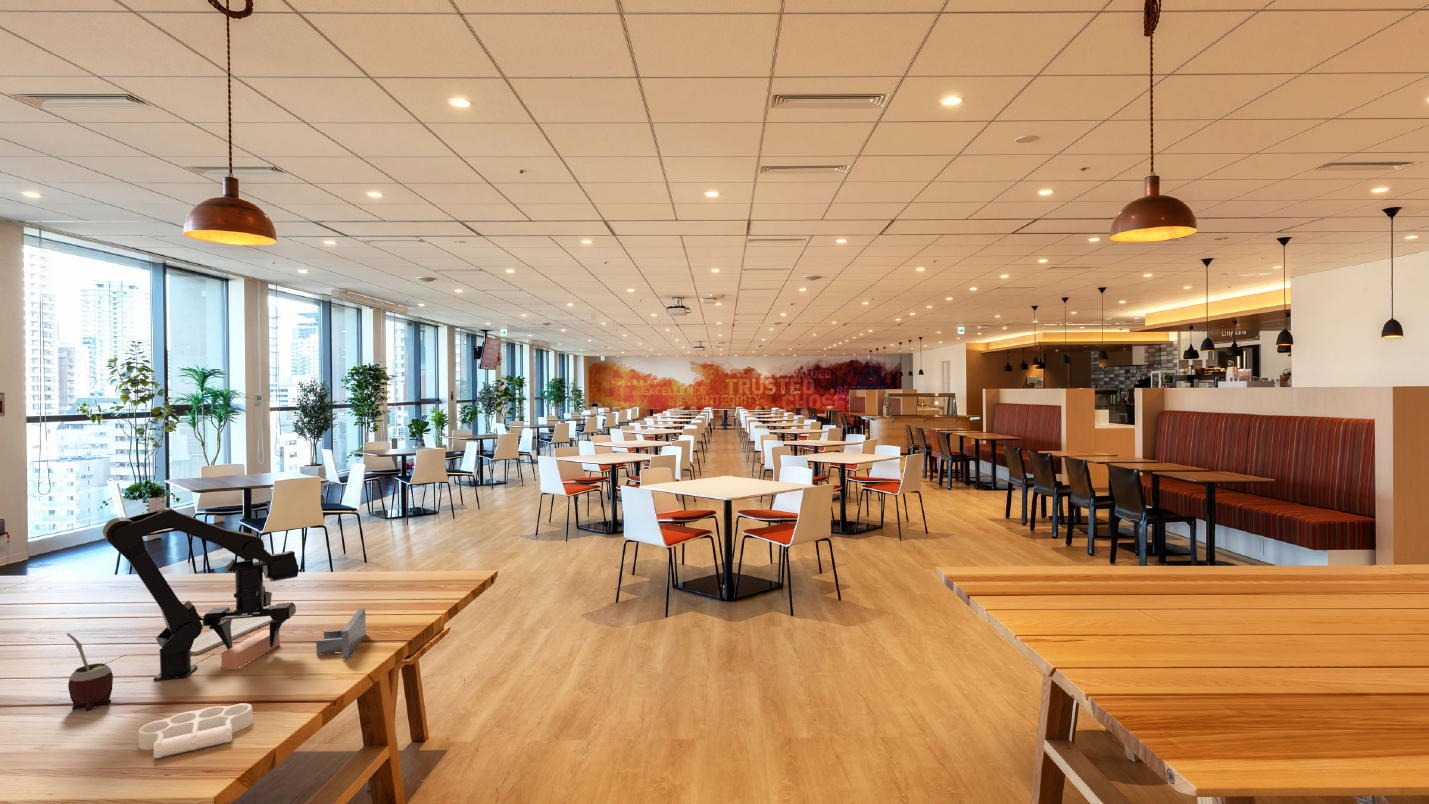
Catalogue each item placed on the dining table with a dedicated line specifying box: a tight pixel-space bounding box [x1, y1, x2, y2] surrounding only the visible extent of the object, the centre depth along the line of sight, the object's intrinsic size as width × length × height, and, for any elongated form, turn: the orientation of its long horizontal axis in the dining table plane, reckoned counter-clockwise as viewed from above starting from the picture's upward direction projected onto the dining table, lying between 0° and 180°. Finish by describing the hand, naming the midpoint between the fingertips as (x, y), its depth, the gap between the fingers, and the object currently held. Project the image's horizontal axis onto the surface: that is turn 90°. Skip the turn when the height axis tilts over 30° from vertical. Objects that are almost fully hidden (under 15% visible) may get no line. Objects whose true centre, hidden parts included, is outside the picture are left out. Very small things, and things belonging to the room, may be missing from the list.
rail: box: [220, 629, 281, 670], centre depth 180 cm, size 16×4×4 cm, turn 179°
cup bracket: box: [315, 607, 367, 660], centre depth 185 cm, size 18×8×7 cm, turn 14°
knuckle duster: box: [137, 702, 254, 759], centre depth 140 cm, size 3×18×15 cm
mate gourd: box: [66, 632, 114, 712], centre depth 153 cm, size 8×8×15 cm
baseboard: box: [190, 605, 275, 656], centre depth 197 cm, size 31×3×12 cm
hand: (251, 648), depth 180 cm, fingers open, 9 cm apart
